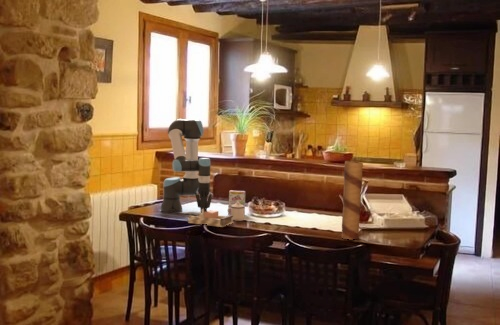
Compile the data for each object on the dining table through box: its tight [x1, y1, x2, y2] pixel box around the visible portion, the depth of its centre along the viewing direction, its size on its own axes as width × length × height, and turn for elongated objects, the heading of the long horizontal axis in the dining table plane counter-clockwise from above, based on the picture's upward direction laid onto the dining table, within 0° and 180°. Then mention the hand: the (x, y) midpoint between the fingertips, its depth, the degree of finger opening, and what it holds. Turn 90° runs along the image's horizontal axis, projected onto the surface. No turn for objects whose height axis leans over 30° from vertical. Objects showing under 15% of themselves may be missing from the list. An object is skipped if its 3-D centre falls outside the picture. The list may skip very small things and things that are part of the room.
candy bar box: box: [227, 189, 246, 216], centre depth 397 cm, size 11×5×16 cm, turn 84°
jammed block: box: [204, 210, 219, 219], centre depth 366 cm, size 6×8×6 cm
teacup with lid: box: [227, 202, 245, 222], centre depth 381 cm, size 12×9×12 cm
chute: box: [187, 212, 234, 228], centre depth 366 cm, size 25×14×5 cm, turn 64°
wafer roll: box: [341, 160, 364, 241], centre depth 331 cm, size 10×11×45 cm
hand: (203, 218), depth 368 cm, fingers closed
